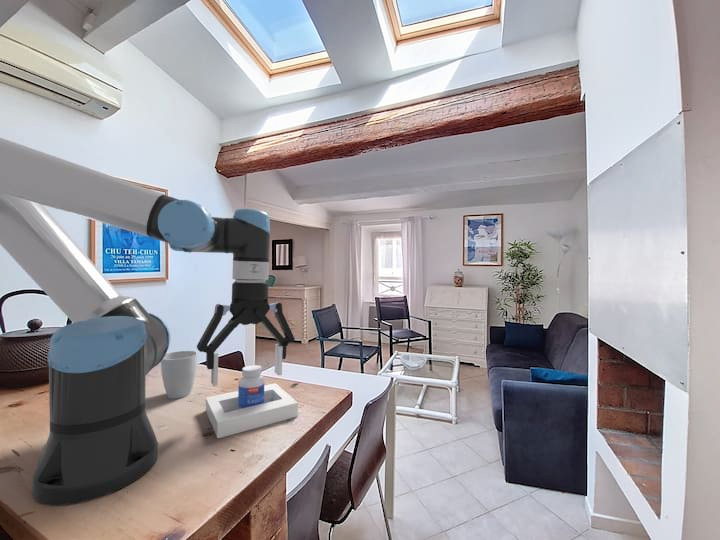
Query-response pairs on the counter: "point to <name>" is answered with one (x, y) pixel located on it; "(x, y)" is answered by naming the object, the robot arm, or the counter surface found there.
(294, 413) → the dock
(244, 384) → the pill bottle
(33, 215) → the robot arm
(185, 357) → the cup
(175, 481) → the counter surface
